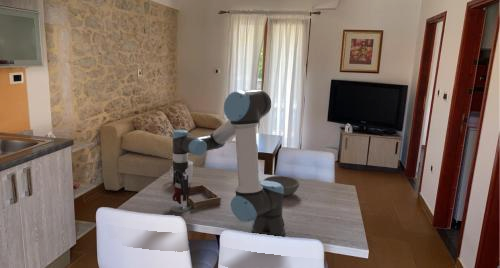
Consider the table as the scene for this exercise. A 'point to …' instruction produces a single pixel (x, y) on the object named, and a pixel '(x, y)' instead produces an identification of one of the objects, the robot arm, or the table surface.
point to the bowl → (285, 183)
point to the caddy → (204, 203)
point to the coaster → (180, 208)
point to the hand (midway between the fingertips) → (180, 203)
